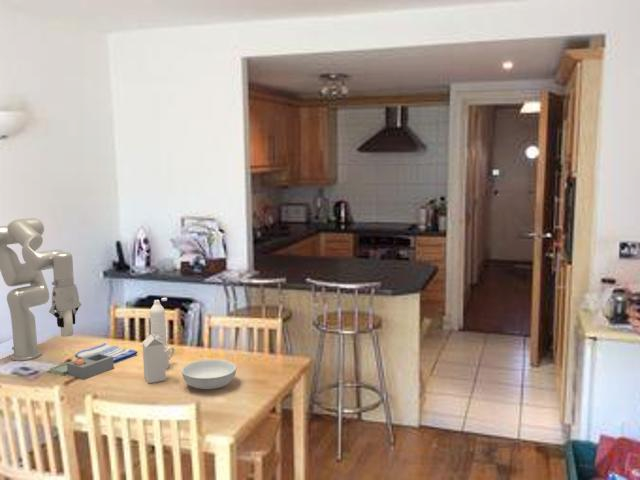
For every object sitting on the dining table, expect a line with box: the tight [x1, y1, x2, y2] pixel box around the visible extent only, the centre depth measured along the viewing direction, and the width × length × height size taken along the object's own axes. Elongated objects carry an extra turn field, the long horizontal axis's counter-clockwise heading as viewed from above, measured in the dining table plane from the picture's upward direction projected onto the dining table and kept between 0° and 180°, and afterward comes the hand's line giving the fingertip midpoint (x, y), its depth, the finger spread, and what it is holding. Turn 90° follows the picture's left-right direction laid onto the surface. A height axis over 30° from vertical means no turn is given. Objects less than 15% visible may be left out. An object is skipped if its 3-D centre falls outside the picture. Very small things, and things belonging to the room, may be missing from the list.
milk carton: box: [142, 331, 167, 384], centre depth 240 cm, size 7×7×19 cm
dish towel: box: [74, 343, 138, 364], centre depth 270 cm, size 17×24×3 cm
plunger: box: [75, 358, 84, 366], centre depth 246 cm, size 3×3×4 cm
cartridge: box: [60, 309, 74, 338], centre depth 249 cm, size 5×5×13 cm
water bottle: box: [149, 297, 168, 347], centre depth 271 cm, size 9×6×25 cm
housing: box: [66, 353, 115, 380], centre depth 250 cm, size 10×15×5 cm, turn 148°
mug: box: [164, 345, 175, 371], centre depth 254 cm, size 13×10×8 cm
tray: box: [49, 361, 71, 377], centre depth 252 cm, size 9×9×2 cm
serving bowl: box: [181, 358, 237, 390], centre depth 234 cm, size 21×21×7 cm
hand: (66, 324), depth 250 cm, fingers closed on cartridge, 4 cm apart
